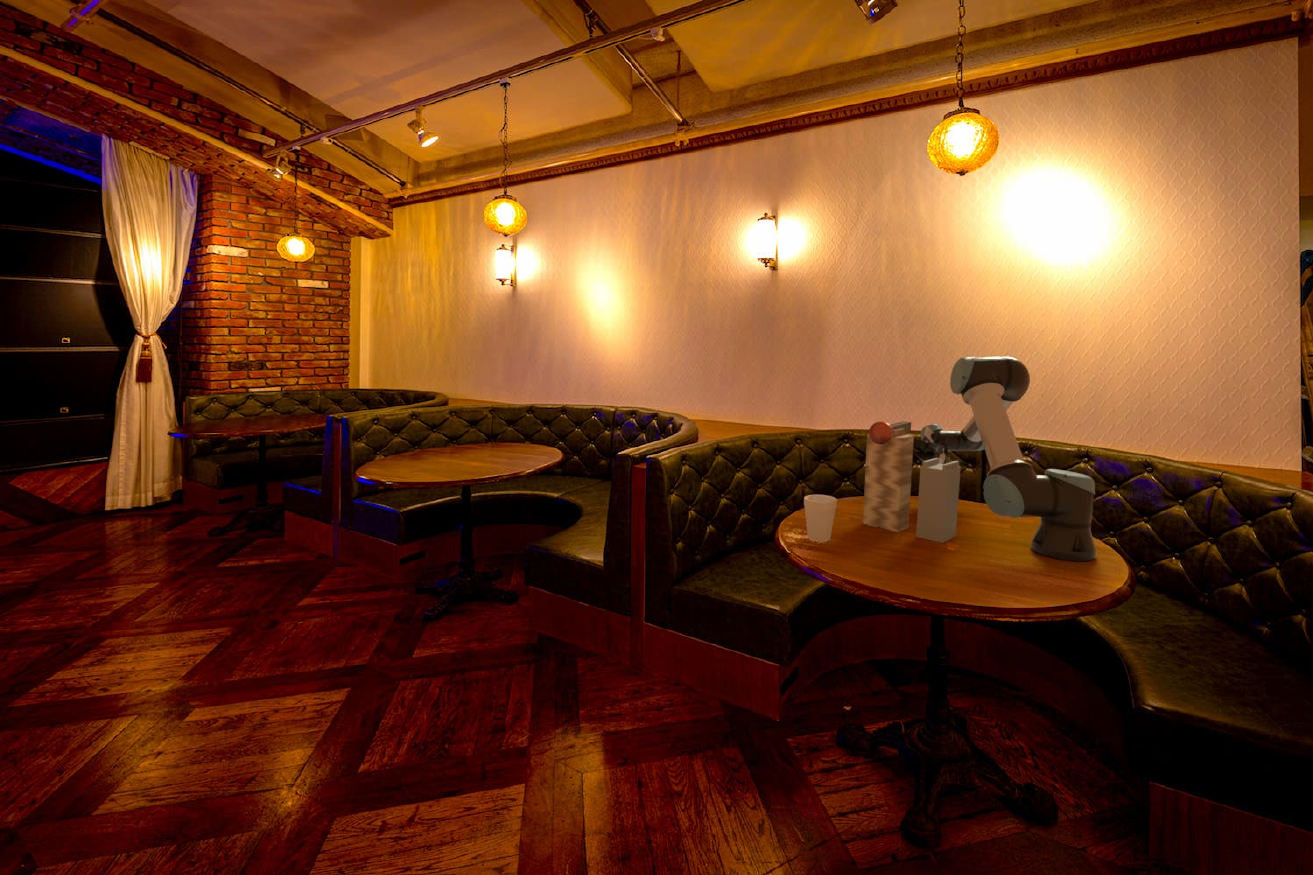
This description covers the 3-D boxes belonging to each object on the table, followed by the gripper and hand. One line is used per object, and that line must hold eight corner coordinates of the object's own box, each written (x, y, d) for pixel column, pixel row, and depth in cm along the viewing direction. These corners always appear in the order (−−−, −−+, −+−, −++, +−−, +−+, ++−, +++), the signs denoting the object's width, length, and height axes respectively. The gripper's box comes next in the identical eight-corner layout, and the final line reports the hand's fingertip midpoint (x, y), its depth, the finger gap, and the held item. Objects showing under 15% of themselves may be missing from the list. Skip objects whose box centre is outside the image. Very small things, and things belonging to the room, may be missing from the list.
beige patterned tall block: (908, 527, 192) (914, 429, 187) (897, 532, 187) (903, 431, 182) (873, 519, 201) (878, 426, 196) (862, 523, 196) (867, 428, 191)
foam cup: (838, 545, 175) (840, 502, 173) (807, 545, 176) (808, 502, 174) (829, 535, 185) (831, 494, 183) (800, 535, 185) (801, 494, 183)
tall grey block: (955, 536, 183) (961, 461, 179) (942, 543, 177) (947, 465, 173) (929, 530, 189) (934, 457, 185) (916, 536, 183) (920, 461, 179)
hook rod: (916, 437, 197) (917, 416, 196) (890, 445, 182) (891, 422, 181) (895, 435, 202) (896, 415, 201) (868, 443, 186) (869, 421, 185)
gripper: (963, 468, 200) (940, 443, 187) (893, 458, 219) (868, 434, 206) (969, 448, 202) (947, 421, 188) (899, 440, 220) (874, 415, 207)
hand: (905, 428), depth 197 cm, fingers open, 13 cm apart
